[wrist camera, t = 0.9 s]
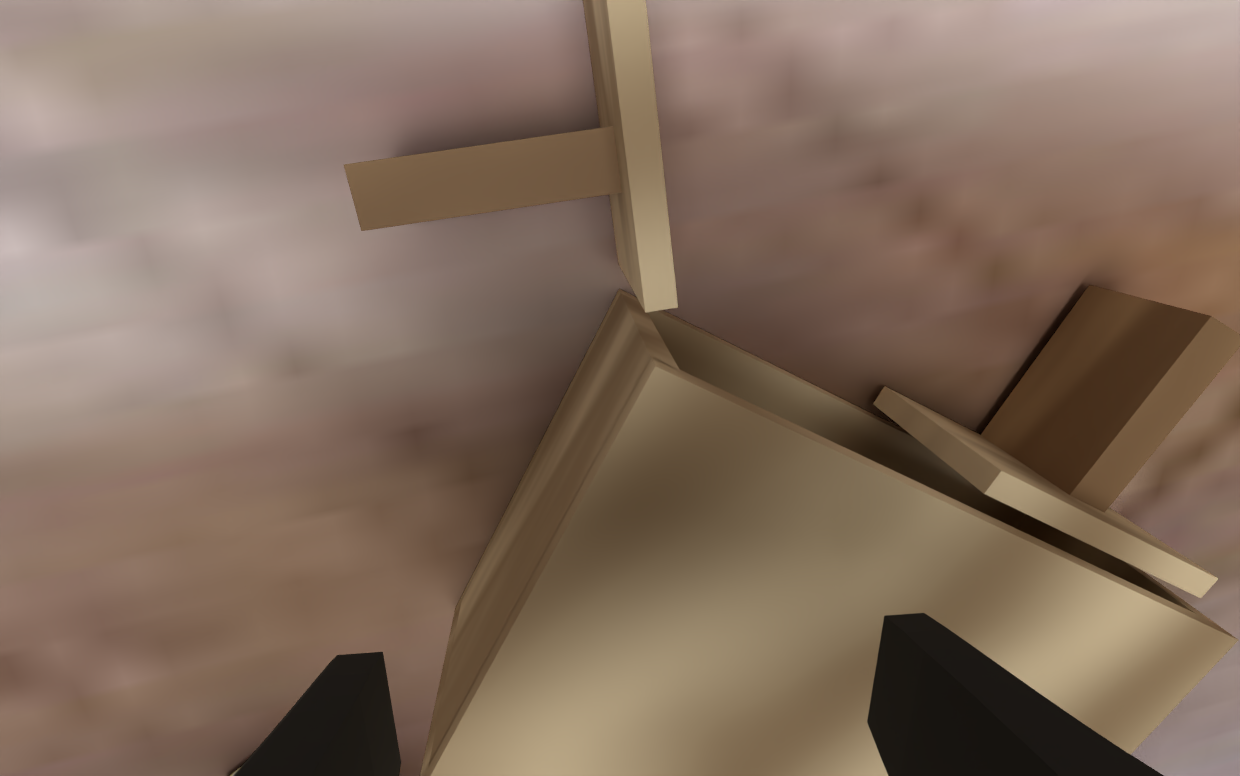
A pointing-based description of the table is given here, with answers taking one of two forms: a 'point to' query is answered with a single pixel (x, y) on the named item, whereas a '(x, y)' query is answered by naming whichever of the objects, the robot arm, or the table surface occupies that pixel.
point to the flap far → (1088, 422)
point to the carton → (764, 582)
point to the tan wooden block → (556, 163)
